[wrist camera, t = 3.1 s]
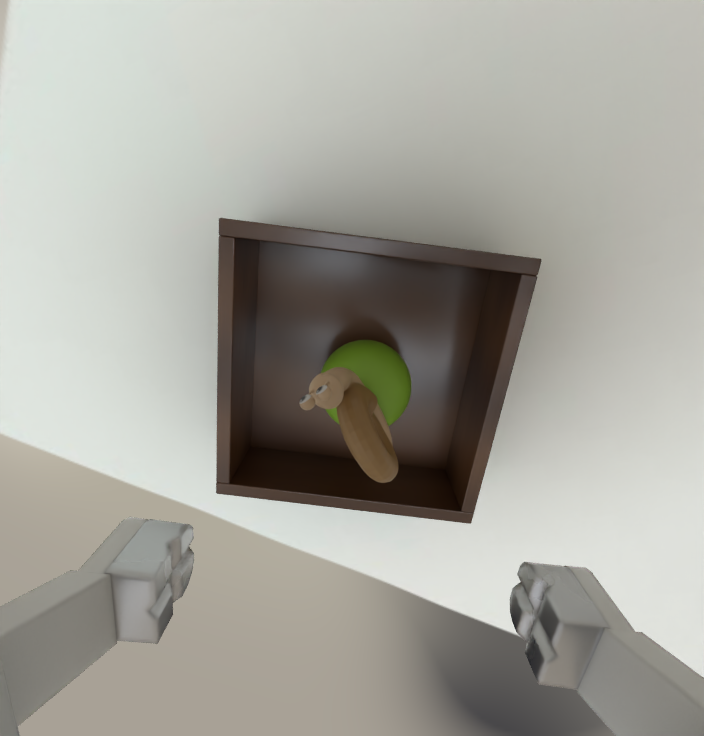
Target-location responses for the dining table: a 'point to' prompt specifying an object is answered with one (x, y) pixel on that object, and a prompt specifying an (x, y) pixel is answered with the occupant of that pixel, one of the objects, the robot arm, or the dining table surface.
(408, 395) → the snail figurine
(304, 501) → the crate
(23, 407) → the dining table surface
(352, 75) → the dining table surface
